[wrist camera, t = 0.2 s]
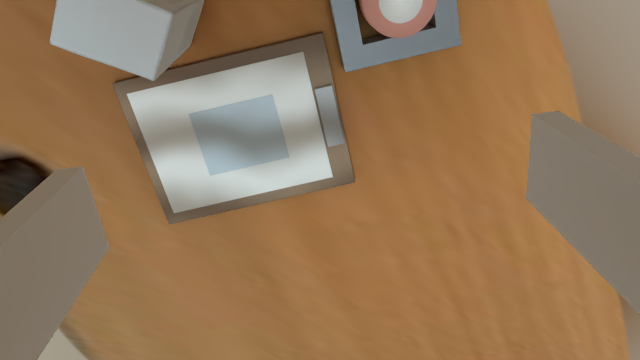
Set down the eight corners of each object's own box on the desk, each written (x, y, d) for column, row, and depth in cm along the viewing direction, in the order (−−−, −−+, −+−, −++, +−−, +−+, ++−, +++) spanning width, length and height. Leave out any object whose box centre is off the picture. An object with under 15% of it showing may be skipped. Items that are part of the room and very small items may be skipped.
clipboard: (115, 81, 40) (109, 85, 39) (322, 31, 39) (323, 34, 38) (171, 219, 45) (167, 227, 44) (354, 178, 44) (355, 185, 43)
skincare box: (115, 19, 38) (43, 43, 27) (128, -38, 36) (58, -36, 25) (192, 49, 39) (154, 84, 28) (208, -5, 38) (174, 10, 27)
